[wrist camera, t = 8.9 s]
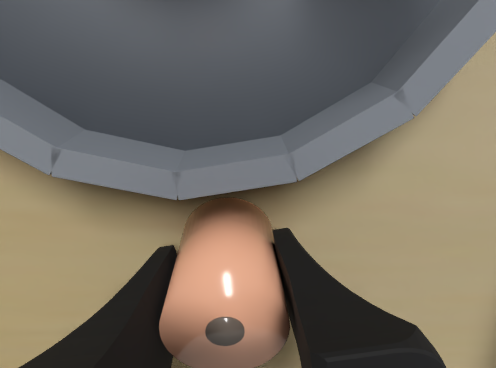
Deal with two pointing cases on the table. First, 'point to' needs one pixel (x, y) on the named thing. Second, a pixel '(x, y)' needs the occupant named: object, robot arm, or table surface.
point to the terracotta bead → (225, 290)
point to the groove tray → (219, 85)
